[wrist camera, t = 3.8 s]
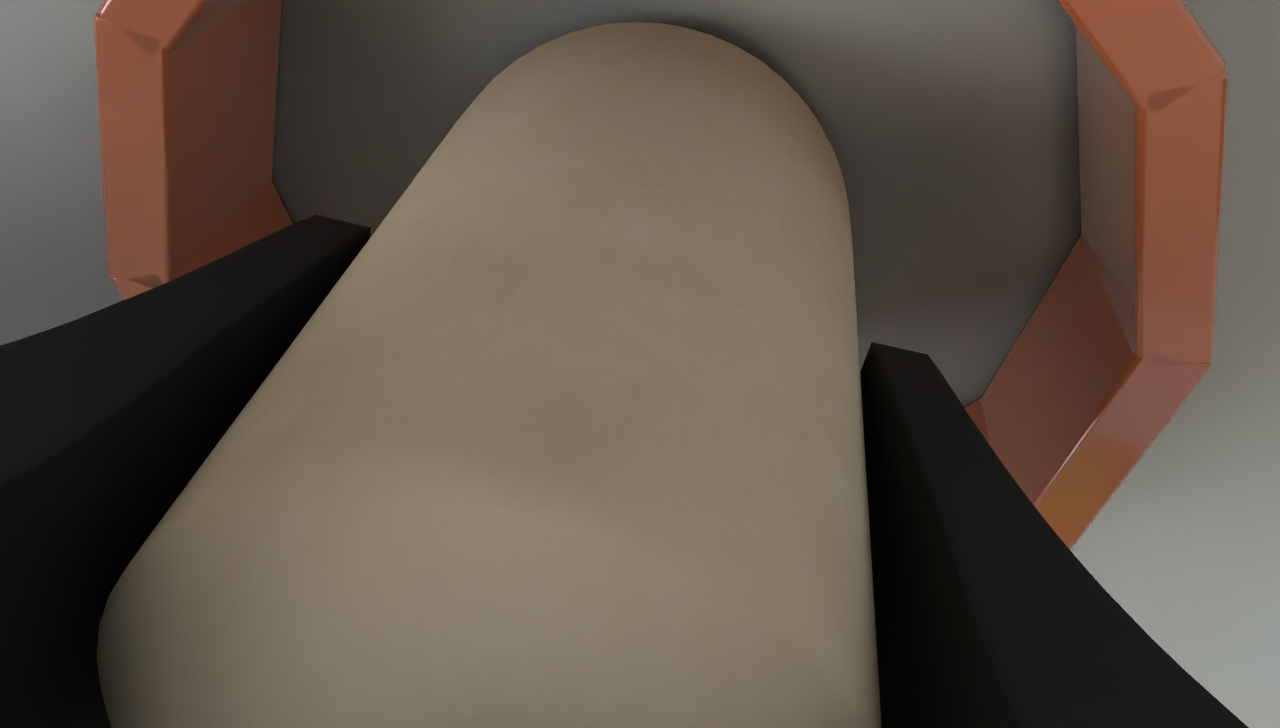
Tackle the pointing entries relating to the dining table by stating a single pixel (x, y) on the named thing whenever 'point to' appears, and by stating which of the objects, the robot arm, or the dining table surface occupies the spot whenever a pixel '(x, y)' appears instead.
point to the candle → (547, 436)
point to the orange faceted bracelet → (1005, 415)
